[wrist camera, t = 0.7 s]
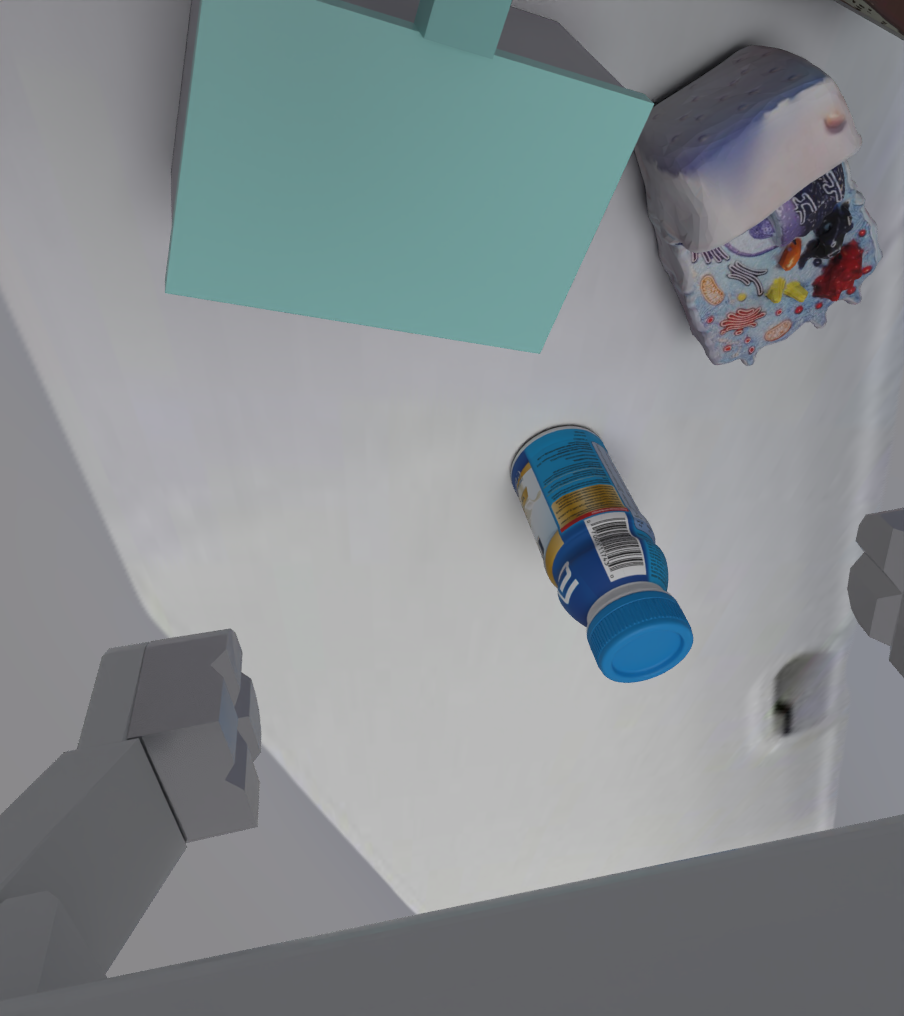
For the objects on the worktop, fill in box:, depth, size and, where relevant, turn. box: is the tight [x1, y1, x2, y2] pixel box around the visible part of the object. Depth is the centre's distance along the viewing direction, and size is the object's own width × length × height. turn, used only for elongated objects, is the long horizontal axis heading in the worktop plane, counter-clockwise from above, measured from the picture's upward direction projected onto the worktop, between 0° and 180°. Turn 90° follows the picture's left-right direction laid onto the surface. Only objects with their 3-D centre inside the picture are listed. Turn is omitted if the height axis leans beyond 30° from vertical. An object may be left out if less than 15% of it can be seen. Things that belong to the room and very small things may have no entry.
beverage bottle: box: [511, 426, 693, 683], centre depth 65 cm, size 8×8×20 cm
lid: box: [165, 0, 654, 354], centre depth 38 cm, size 19×20×2 cm
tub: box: [171, 0, 624, 220], centre depth 44 cm, size 13×19×12 cm
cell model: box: [634, 45, 883, 366], centre depth 54 cm, size 13×11×20 cm
